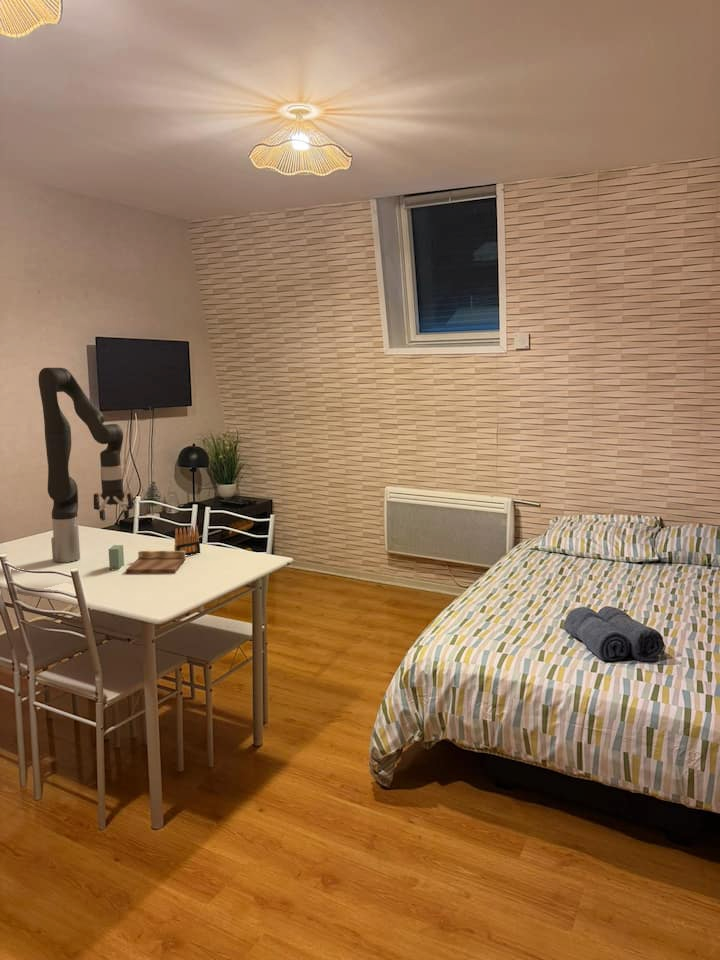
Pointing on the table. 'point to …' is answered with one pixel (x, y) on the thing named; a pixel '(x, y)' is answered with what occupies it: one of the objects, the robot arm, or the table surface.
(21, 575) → the table surface
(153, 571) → the walnut board
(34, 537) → the table surface
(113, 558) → the green rectangular block
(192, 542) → the ammunition clip
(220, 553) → the table surface
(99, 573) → the table surface
